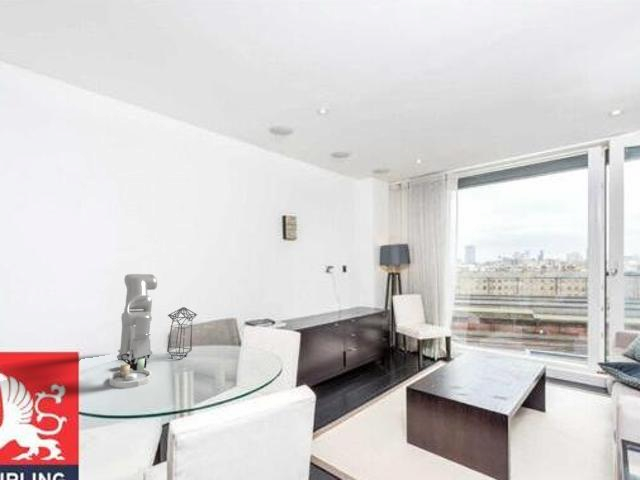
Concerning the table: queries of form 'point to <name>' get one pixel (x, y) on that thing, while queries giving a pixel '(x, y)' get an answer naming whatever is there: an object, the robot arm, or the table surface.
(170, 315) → the geometric lantern
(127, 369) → the birch bead
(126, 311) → the robot arm
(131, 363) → the coffee mug
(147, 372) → the groove tray
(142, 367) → the sage bead
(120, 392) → the table surface
